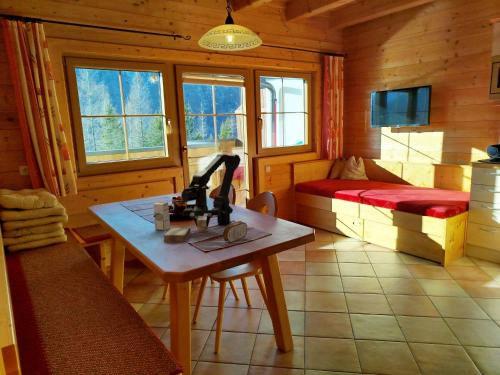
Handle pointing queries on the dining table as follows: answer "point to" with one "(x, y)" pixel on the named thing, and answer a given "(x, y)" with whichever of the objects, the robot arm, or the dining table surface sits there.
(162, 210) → the syrup box
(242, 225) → the tin
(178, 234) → the plinth
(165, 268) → the dining table surface
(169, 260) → the dining table surface
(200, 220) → the block
